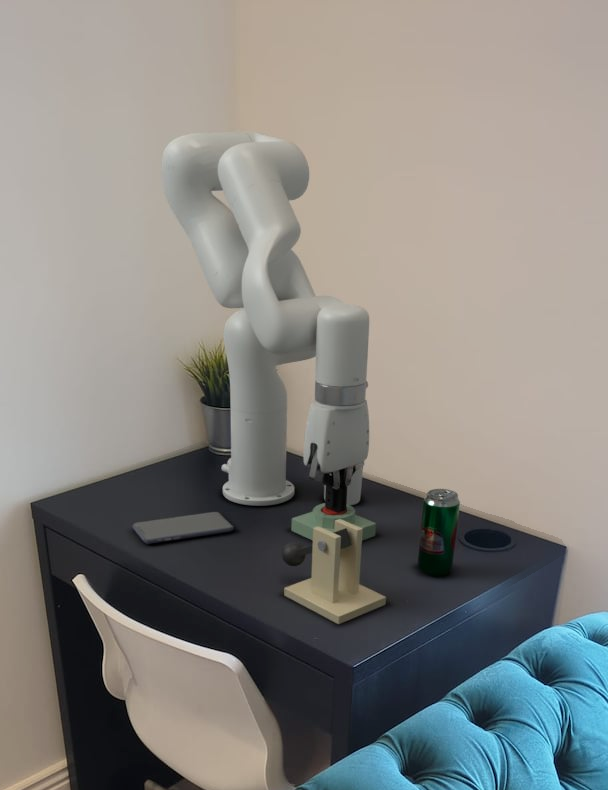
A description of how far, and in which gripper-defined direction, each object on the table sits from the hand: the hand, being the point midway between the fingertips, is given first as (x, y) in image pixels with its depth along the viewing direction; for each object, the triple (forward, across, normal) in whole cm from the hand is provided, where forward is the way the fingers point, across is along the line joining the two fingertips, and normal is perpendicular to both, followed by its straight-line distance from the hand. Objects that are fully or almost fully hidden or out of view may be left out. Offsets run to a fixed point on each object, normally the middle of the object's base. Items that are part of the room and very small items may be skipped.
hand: (335, 509), depth 153 cm
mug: (+4, -12, -11) cm, 17 cm away
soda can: (+5, -2, +19) cm, 20 cm away
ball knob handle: (-1, +16, +13) cm, 21 cm away
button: (+2, 0, 0) cm, 2 cm away
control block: (+4, 0, 0) cm, 4 cm away
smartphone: (+4, +18, -16) cm, 25 cm away
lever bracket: (+4, +16, +17) cm, 23 cm away
